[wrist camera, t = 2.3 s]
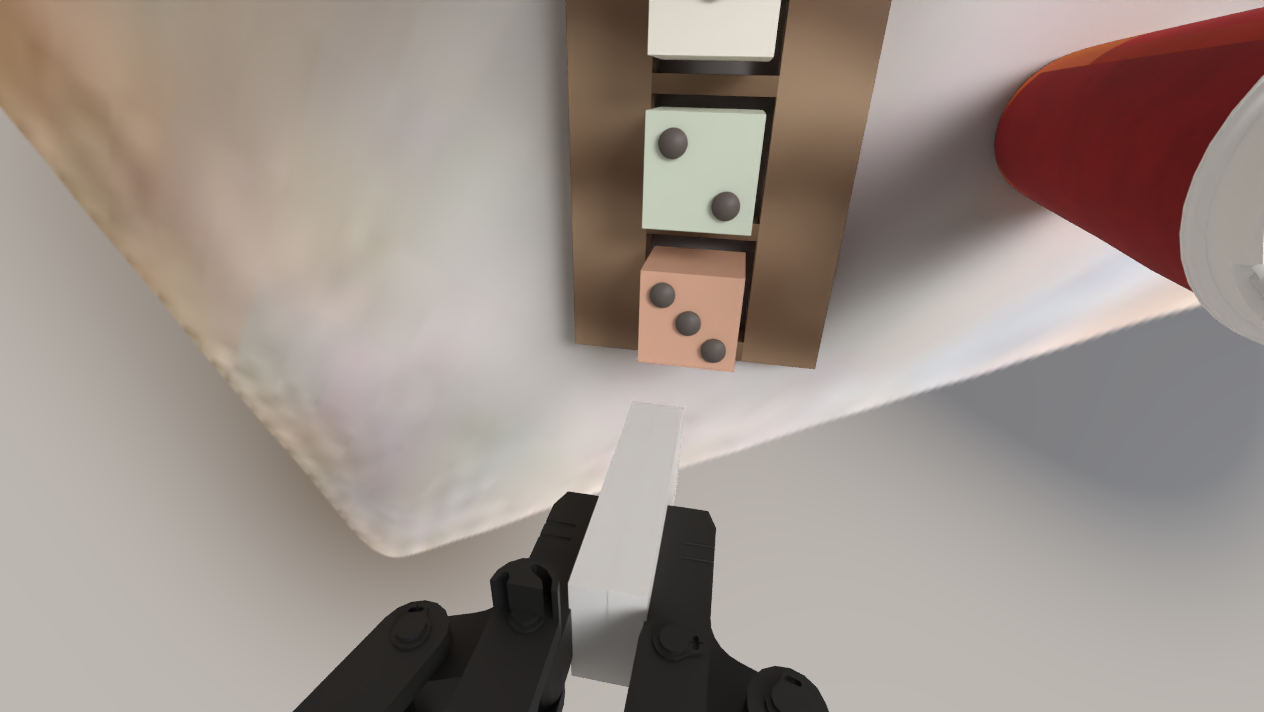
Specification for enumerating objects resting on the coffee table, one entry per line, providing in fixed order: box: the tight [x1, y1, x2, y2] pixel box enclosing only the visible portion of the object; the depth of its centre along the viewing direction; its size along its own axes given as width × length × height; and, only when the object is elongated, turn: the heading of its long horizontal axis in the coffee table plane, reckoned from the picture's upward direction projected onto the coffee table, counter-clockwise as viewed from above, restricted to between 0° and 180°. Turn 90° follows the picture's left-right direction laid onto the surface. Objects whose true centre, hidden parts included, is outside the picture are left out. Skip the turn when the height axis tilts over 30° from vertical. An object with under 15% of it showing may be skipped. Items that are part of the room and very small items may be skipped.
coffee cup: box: [994, 7, 1264, 345], centre depth 16 cm, size 8×8×15 cm
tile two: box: [642, 107, 766, 236], centre depth 22 cm, size 4×4×4 cm
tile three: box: [638, 246, 746, 372], centre depth 25 cm, size 4×4×4 cm
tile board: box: [566, 0, 892, 369], centre depth 25 cm, size 20×13×2 cm, turn 178°
